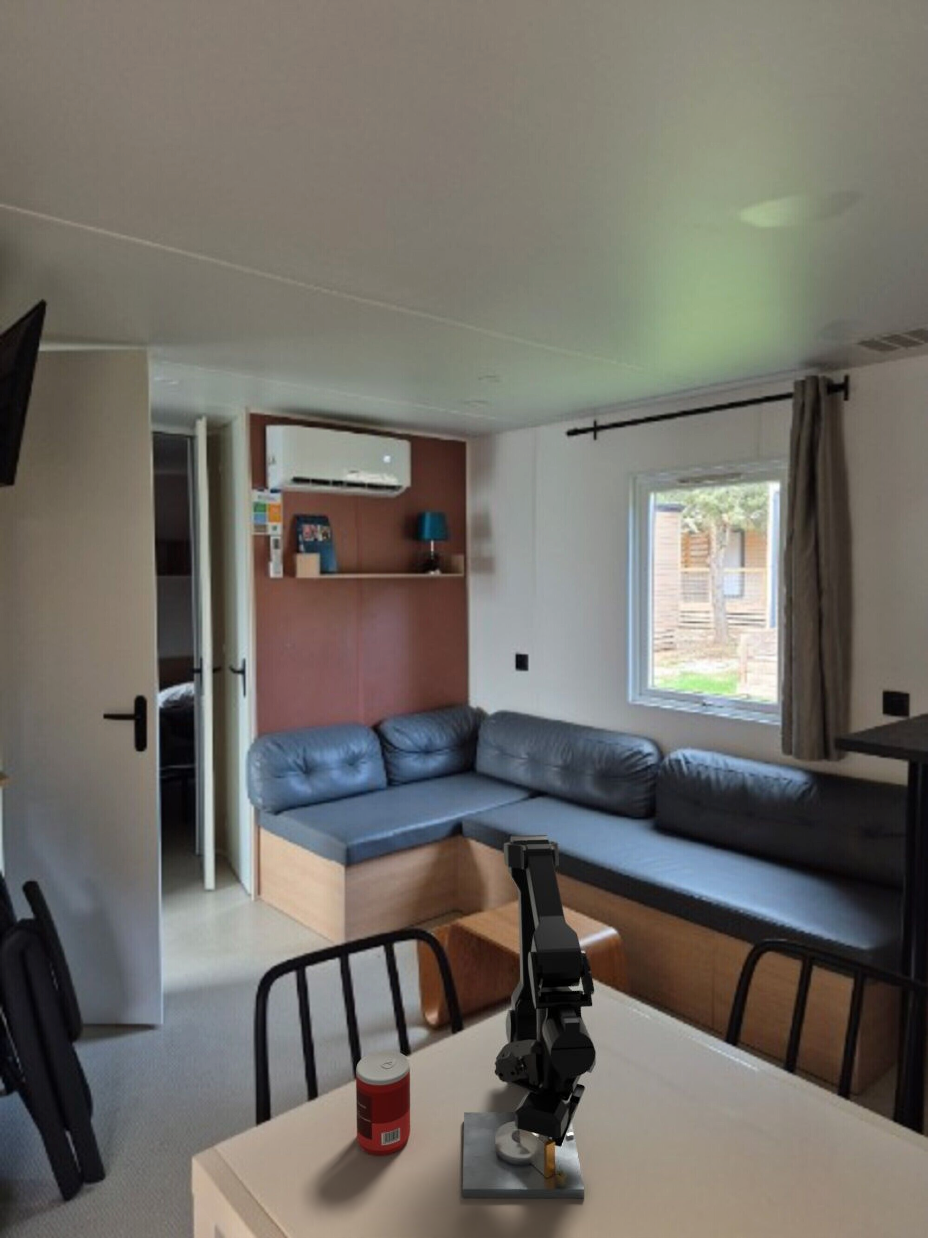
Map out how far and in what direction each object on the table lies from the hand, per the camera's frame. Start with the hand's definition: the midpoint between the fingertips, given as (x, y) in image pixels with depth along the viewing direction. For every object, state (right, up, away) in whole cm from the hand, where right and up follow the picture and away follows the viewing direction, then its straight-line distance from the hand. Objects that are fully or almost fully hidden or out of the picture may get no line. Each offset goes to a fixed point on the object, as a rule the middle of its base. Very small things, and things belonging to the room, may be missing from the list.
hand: (558, 1144), depth 113 cm
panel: (-5, -3, +3) cm, 7 cm away
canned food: (-25, -4, +7) cm, 26 cm away
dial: (-4, -2, +1) cm, 5 cm away
